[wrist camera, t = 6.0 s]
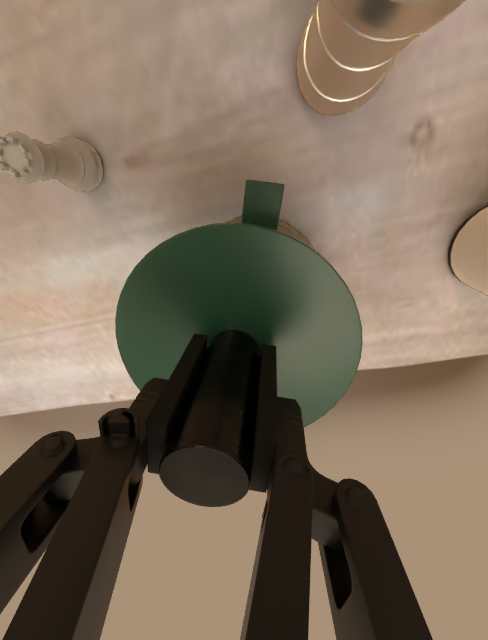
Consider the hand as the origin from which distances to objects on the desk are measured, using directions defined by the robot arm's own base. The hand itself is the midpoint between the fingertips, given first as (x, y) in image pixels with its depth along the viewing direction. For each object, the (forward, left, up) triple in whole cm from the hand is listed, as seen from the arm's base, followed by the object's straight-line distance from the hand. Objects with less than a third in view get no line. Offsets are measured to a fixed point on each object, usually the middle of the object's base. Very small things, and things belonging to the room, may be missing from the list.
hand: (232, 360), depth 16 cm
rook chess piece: (-18, +9, -15) cm, 25 cm away
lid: (0, 0, -1) cm, 1 cm away
